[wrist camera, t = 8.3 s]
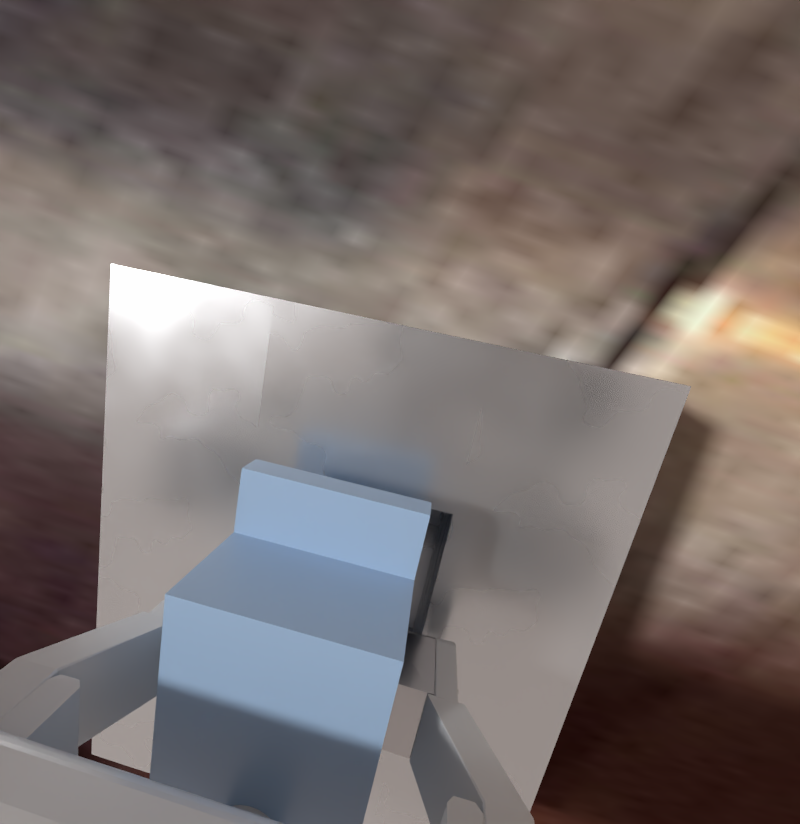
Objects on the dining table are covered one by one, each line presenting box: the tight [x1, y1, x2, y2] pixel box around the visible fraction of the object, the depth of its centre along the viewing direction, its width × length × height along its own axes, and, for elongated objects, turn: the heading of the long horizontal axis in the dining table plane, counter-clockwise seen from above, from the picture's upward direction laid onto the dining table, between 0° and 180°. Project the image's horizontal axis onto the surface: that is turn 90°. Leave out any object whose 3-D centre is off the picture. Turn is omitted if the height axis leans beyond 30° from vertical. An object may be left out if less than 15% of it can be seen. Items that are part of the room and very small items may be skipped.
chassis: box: [92, 264, 691, 824], centre depth 12 cm, size 14×16×3 cm
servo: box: [150, 459, 431, 824], centre depth 9 cm, size 4×9×6 cm, turn 168°
